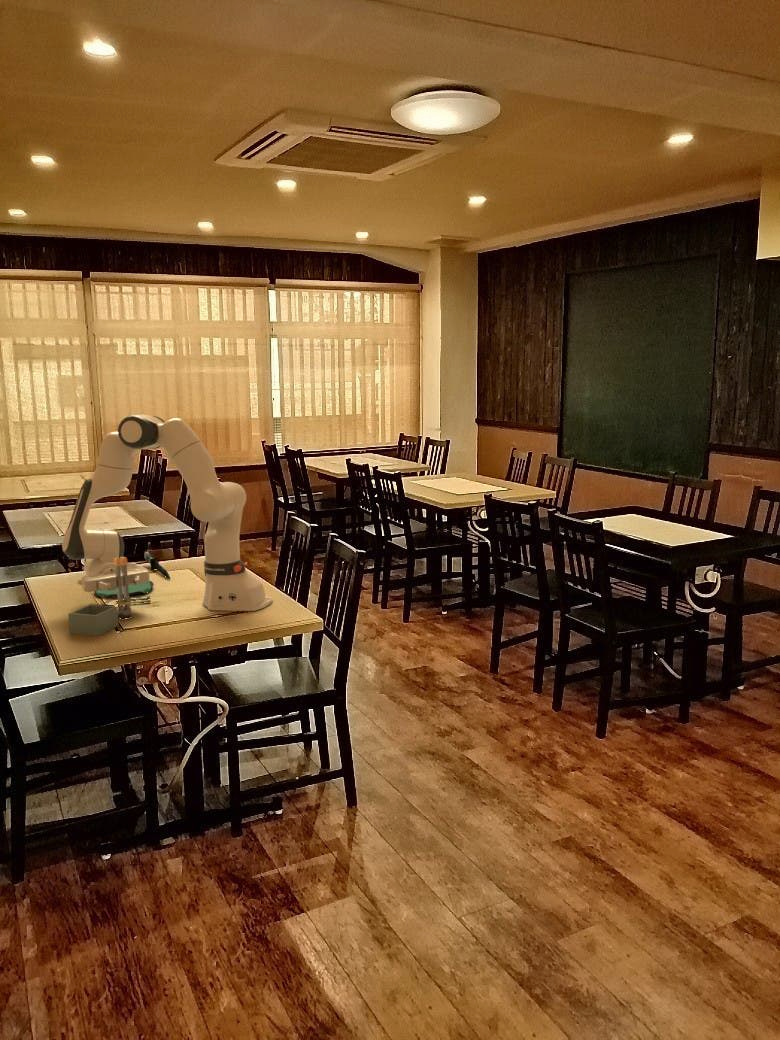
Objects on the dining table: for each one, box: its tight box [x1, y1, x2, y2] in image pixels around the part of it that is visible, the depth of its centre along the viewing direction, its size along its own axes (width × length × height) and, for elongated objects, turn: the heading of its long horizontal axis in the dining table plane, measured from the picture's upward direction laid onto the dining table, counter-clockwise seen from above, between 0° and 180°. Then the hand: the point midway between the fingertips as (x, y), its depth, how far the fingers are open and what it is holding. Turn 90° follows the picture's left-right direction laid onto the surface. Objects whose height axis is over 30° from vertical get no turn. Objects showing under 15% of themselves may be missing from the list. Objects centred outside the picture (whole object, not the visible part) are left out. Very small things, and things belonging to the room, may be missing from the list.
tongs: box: [114, 556, 133, 619], centre depth 245 cm, size 4×4×19 cm
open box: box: [67, 603, 119, 637], centre depth 235 cm, size 10×10×6 cm
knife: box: [143, 550, 171, 580], centre depth 302 cm, size 31×3×4 cm, turn 30°
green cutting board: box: [93, 580, 154, 603], centre depth 273 cm, size 20×30×2 cm, turn 19°
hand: (123, 584), depth 244 cm, fingers open, 8 cm apart
